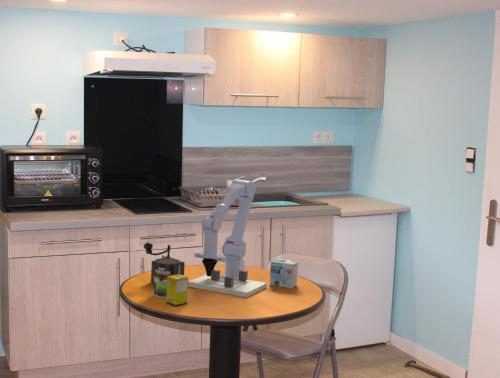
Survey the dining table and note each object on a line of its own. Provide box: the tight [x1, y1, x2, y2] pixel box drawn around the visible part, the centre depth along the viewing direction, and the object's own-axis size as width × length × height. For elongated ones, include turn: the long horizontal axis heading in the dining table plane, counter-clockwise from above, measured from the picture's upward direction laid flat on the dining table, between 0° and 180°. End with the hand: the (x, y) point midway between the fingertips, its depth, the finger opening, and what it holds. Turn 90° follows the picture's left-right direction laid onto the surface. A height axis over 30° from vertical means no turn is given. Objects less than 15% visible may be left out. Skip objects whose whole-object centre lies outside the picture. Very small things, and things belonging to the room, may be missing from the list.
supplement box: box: [166, 274, 189, 308], centre depth 276 cm, size 6×6×11 cm
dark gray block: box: [211, 268, 221, 281], centre depth 307 cm, size 2×3×4 cm
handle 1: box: [224, 276, 234, 288], centre depth 297 cm, size 2×3×4 cm
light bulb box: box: [269, 258, 299, 289], centre depth 312 cm, size 11×7×11 cm, turn 68°
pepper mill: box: [143, 242, 186, 284], centre depth 304 cm, size 16×11×18 cm
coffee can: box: [153, 257, 181, 299], centre depth 287 cm, size 10×10×14 cm
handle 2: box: [239, 269, 249, 281], centre depth 308 cm, size 2×3×4 cm
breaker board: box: [188, 274, 268, 298], centre depth 305 cm, size 19×28×2 cm
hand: (209, 275), depth 309 cm, fingers closed
